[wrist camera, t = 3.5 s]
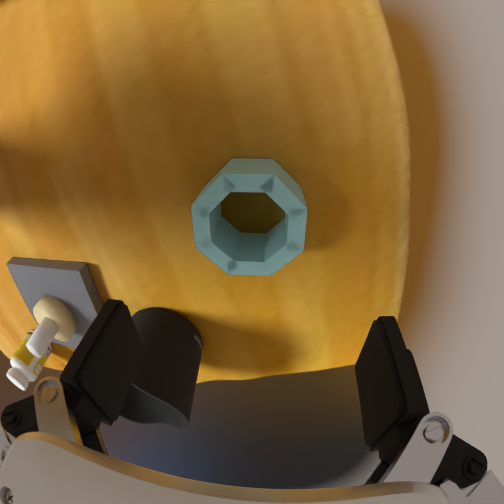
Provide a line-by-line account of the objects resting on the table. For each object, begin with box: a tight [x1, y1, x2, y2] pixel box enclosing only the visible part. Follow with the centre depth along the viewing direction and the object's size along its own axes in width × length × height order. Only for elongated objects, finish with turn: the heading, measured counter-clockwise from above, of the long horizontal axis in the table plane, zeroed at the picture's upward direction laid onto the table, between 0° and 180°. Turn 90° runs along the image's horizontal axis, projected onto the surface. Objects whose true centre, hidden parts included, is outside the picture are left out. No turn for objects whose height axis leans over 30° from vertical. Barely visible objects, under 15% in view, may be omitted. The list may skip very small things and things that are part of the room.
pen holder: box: [119, 308, 203, 429], centre depth 25 cm, size 9×9×10 cm
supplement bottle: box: [6, 330, 52, 390], centre depth 31 cm, size 5×5×10 cm
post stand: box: [6, 257, 103, 358], centre depth 26 cm, size 14×14×8 cm
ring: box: [191, 158, 307, 276], centre depth 19 cm, size 7×7×4 cm
